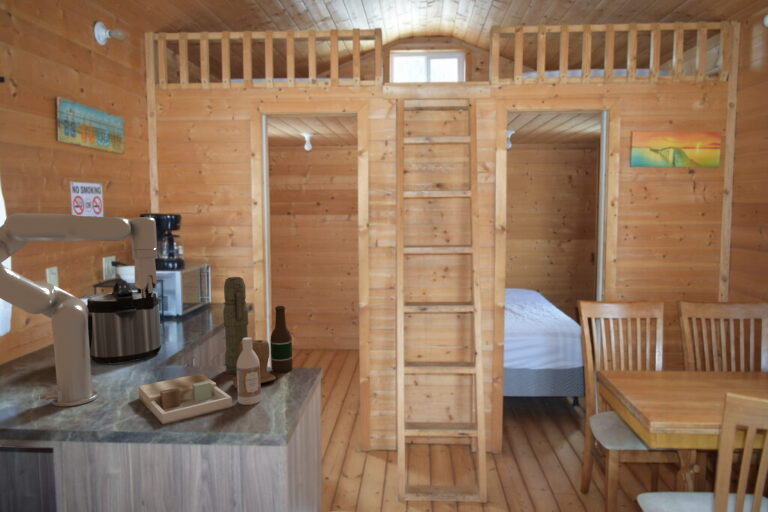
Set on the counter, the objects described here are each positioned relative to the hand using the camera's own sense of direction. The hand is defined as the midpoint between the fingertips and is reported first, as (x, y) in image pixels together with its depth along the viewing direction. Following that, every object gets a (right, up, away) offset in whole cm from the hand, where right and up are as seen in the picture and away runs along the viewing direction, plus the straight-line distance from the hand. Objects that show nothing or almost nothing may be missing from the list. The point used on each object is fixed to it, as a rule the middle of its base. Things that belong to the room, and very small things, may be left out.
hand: (147, 308), depth 172 cm
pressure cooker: (-29, -25, +41) cm, 56 cm away
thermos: (+25, -25, +20) cm, 41 cm away
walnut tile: (+14, -25, -16) cm, 33 cm away
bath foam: (+37, -28, -12) cm, 48 cm away
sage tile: (+21, -25, -10) cm, 34 cm away
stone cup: (+34, -27, +5) cm, 43 cm away
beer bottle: (+41, -25, +20) cm, 52 cm away
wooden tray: (+13, -28, -7) cm, 31 cm away
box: (+21, -28, -18) cm, 40 cm away
